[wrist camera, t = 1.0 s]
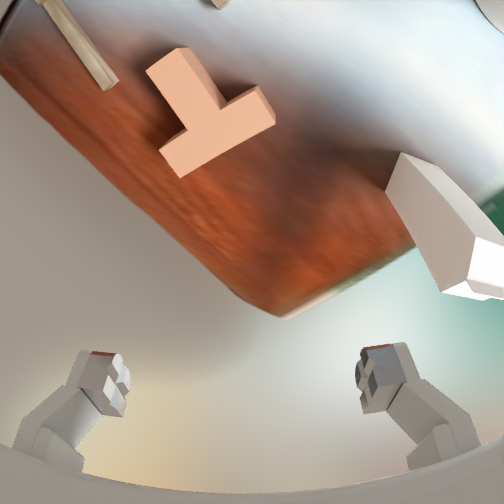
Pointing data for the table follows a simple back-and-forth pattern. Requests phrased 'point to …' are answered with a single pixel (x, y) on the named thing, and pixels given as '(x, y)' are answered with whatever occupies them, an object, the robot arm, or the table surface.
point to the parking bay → (88, 41)
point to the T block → (205, 112)
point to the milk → (448, 230)
